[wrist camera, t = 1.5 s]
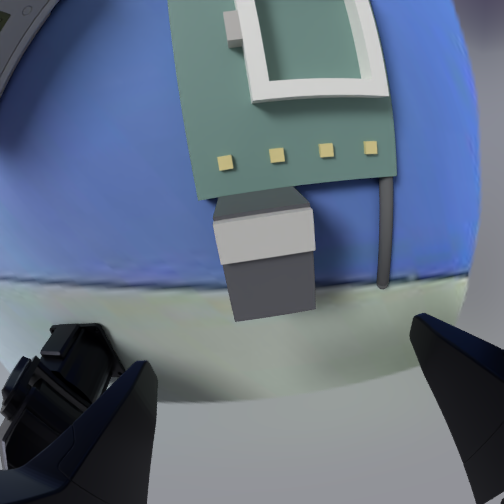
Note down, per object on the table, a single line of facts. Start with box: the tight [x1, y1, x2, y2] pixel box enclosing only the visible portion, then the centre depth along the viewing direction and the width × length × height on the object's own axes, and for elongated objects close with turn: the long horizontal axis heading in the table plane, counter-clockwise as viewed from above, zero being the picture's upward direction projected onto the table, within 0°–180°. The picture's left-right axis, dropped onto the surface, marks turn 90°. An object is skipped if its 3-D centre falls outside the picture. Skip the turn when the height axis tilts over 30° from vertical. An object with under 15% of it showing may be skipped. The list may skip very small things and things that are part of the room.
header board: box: [167, 0, 397, 201], centre depth 13 cm, size 16×13×3 cm
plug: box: [213, 186, 316, 322], centre depth 16 cm, size 6×4×6 cm
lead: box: [377, 176, 393, 289], centre depth 18 cm, size 12×1×1 cm, turn 8°
